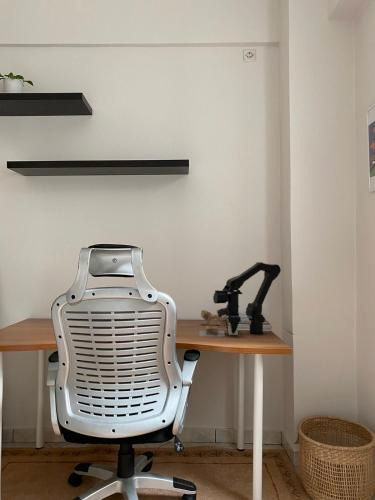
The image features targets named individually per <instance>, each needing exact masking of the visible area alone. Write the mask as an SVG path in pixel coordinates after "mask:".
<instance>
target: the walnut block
mask: <svg viewBox="0 0 375 500" xmlns="http://www.w3.org/2000/svg"><path fill="white" fill-rule="evenodd" d="M218 327H219V326H206V329H205V331H206V334H207V335H218V331H219V328H218Z"/></svg>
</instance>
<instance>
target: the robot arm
mask: <svg viewBox="0 0 375 500" xmlns="http://www.w3.org/2000/svg"><path fill="white" fill-rule="evenodd" d="M261 271H262V272H264V273H263V274H264V275H263V280H262V282H261V285H260V287H259V289H258V291H257V294H256V296H255V298H254V300H253V302H251V303H250V302H249V303H248V304H247V306H246V308H245V314H246V317H247V318H248V321H250V322H249V325H248V329H249V330H248V331H249V333H250V334H251V335H258V334H259V335H264V330H263V329H264V323H266V318H265V316H264V315H262V314H263V313H262V312H263V304H264V302H265V299H266V297H267V294H268V293H269V290H270V288H271V286H272V284H273V282H274V281H275V280H276V279H277V277H278V276H279V275H280V273H281V271H282V269H281V266H280V265H279V264H277V263H275V264H270V263H264V262H263V261H262V262H261V261H259V262H257V261H256V262H255V264H253V265H251V266H250V267H249V268H248V269H246V270H244V271H243V272H242V273H240V274H239V275H236V276H233V277H231V278H229V279H227V280H226V283H225V285H224V287H223V289H222V290H219V289H217V290H216V289H215V290H214V293H213V296H212V297H213V298H212V300H213V303H214V304H227V305H226V307H222V308H219V309H217V310H216V314H218V316H219V317H222V318H223V316H226V320H227V321H228V323H229V325H231V329H232V334H234V333H235V331H236V329H237V327H238V326H239V324H240V322H241V321H242V319H241V316H240V312H239V308H240V305H239V302H240V301H239V295H243V292H242V291H241V290H240V288H242V286H243V285H244V283H245V282H247V281H248V280H250V279H251V278H252V277H253V276H254V275H256V274H258V273H259V272H261Z"/></svg>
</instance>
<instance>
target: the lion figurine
mask: <svg viewBox="0 0 375 500" xmlns="http://www.w3.org/2000/svg"><path fill="white" fill-rule="evenodd" d="M200 317H201V318H203V319H204V321H207V323H206V326H210V321H216V320H217V323H216V326H220V327H222V326H223V325H224V326H226V323H224V321H223V316H222V317H219V316H218V313H215V314H213V313H211V312H209V311H208V310H206V309H203V310H201V312H200Z"/></svg>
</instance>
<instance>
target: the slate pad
mask: <svg viewBox="0 0 375 500" xmlns="http://www.w3.org/2000/svg"><path fill="white" fill-rule="evenodd" d="M199 337H226V334H225V331H224V330H218V335H207V334H206V330H199Z"/></svg>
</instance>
